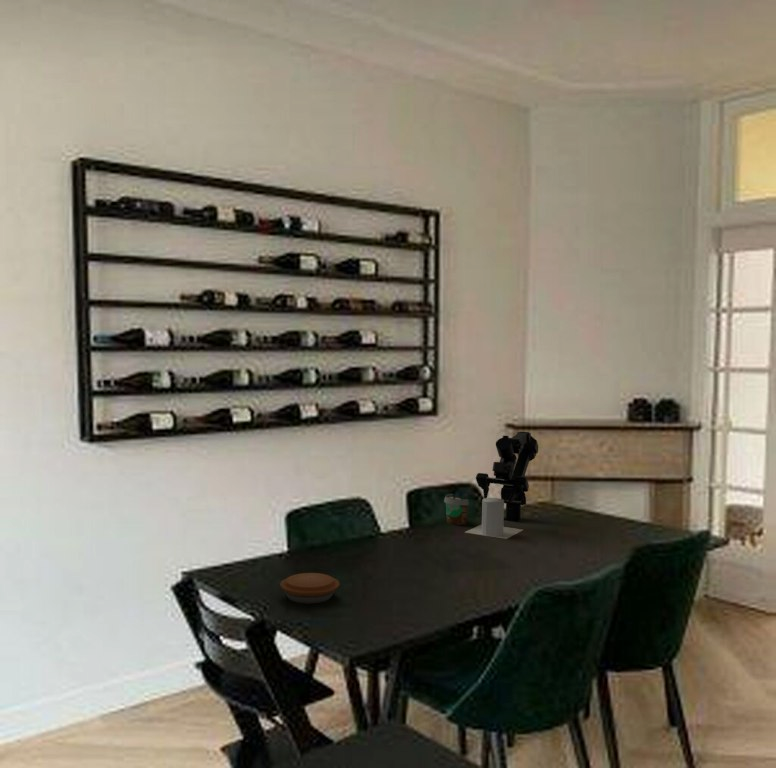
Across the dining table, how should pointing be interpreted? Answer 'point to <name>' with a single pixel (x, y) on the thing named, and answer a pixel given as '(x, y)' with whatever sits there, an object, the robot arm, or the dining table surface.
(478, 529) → the placemat
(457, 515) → the food container
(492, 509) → the cover cup
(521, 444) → the robot arm
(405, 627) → the dining table surface
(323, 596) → the pie
